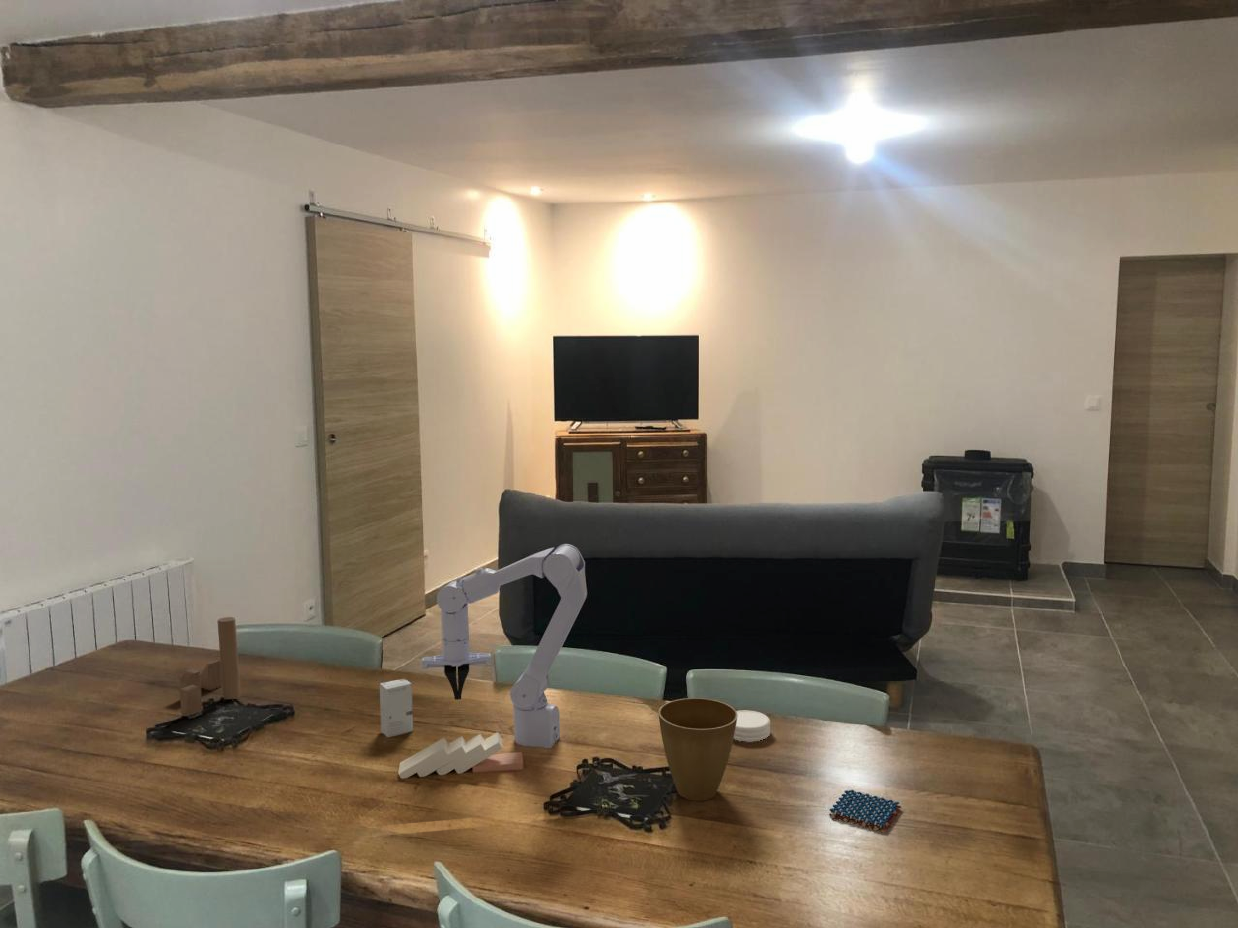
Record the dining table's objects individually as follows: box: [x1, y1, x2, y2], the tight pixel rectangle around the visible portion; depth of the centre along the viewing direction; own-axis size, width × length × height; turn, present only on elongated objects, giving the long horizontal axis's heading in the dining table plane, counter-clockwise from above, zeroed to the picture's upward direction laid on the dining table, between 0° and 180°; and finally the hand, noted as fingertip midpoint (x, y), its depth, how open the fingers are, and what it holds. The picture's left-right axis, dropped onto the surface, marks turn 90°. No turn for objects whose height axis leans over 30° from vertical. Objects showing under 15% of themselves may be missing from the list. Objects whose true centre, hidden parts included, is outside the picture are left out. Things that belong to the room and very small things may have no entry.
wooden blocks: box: [179, 616, 242, 717], centre depth 226 cm, size 17×20×20 cm
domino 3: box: [435, 733, 485, 776], centre depth 186 cm, size 2×5×10 cm
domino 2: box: [416, 735, 467, 778], centre depth 186 cm, size 2×5×10 cm
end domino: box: [472, 751, 524, 774], centre depth 188 cm, size 2×5×10 cm
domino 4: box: [454, 731, 503, 775], centre depth 187 cm, size 2×5×10 cm
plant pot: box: [658, 697, 738, 802], centre depth 177 cm, size 15×15×16 cm
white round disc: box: [734, 709, 771, 743], centre depth 204 cm, size 10×10×4 cm
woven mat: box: [828, 789, 902, 833], centre depth 169 cm, size 10×11×2 cm
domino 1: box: [398, 737, 449, 780], centre depth 185 cm, size 2×5×10 cm
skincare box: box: [379, 678, 414, 738], centre depth 204 cm, size 6×4×12 cm
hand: (458, 697), depth 202 cm, fingers closed
